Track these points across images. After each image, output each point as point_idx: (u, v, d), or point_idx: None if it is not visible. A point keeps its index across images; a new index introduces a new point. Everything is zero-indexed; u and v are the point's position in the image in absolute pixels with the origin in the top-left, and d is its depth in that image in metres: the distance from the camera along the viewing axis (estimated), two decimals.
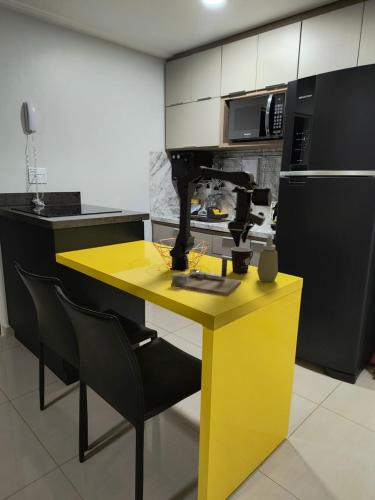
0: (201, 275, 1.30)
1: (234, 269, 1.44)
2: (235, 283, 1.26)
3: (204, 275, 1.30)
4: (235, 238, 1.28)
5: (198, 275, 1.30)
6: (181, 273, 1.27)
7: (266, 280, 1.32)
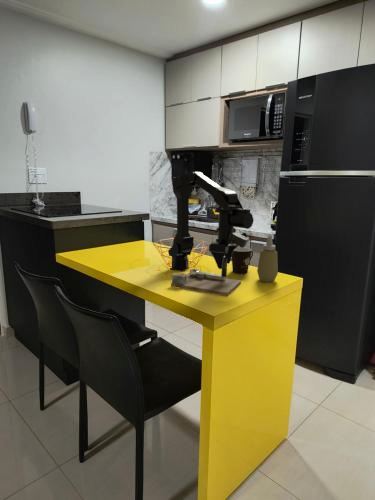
0: (201, 275, 1.30)
1: (234, 269, 1.44)
2: (235, 283, 1.26)
3: (204, 275, 1.30)
4: (217, 260, 1.23)
5: (198, 275, 1.30)
6: (181, 273, 1.27)
7: (266, 280, 1.32)
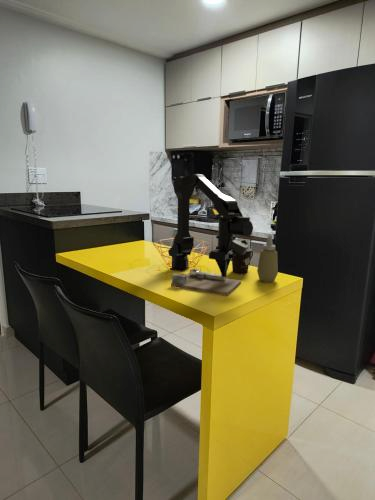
0: (201, 275, 1.30)
1: (234, 269, 1.44)
2: (235, 283, 1.26)
3: (204, 275, 1.30)
4: (220, 265, 1.27)
5: (198, 275, 1.30)
6: (181, 273, 1.27)
7: (266, 280, 1.32)
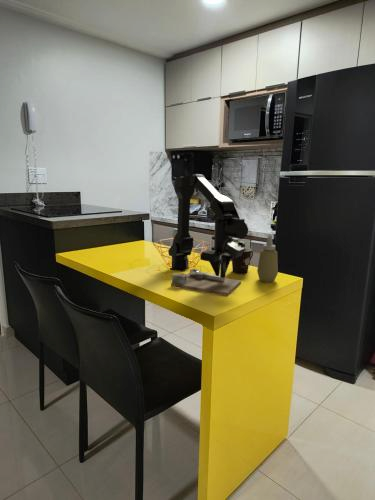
0: (200, 275, 1.30)
1: (234, 269, 1.44)
2: (235, 283, 1.26)
3: (203, 275, 1.30)
4: (214, 267, 1.25)
5: (197, 275, 1.30)
6: (181, 273, 1.27)
7: (266, 280, 1.32)
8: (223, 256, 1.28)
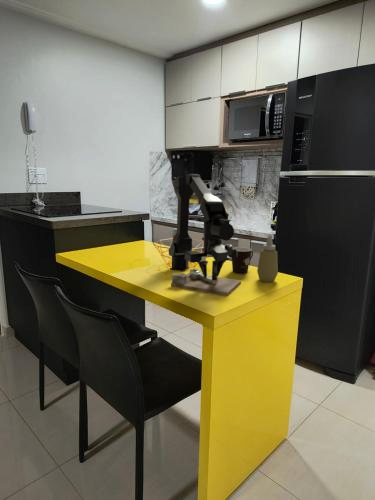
0: (194, 275, 1.29)
1: (234, 269, 1.44)
2: (235, 283, 1.26)
3: (198, 276, 1.29)
4: (201, 269, 1.23)
5: (192, 275, 1.30)
6: (181, 273, 1.27)
7: (266, 280, 1.32)
8: None
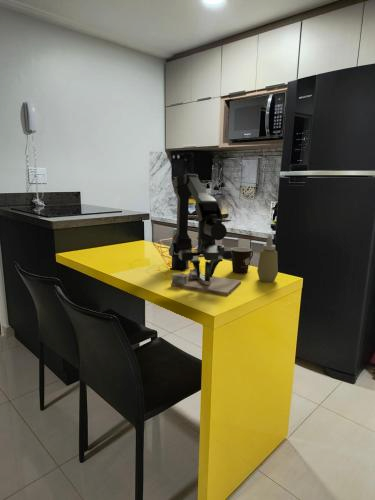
0: (191, 275, 1.30)
1: (234, 269, 1.44)
2: (235, 283, 1.26)
3: (194, 276, 1.29)
4: (195, 268, 1.22)
5: (190, 275, 1.31)
6: (181, 273, 1.27)
7: (266, 280, 1.32)
8: None
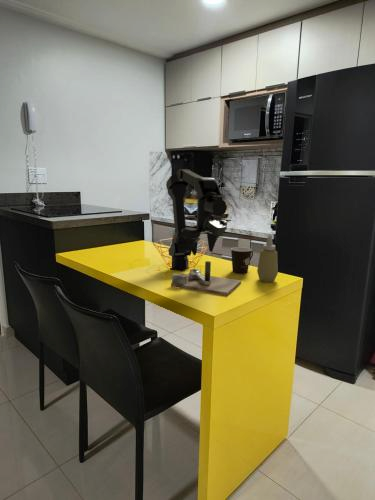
0: (191, 275, 1.30)
1: (234, 269, 1.44)
2: (235, 283, 1.26)
3: (194, 276, 1.29)
4: (191, 246, 1.24)
5: (190, 275, 1.31)
6: (181, 273, 1.27)
7: (266, 280, 1.32)
8: (210, 234, 1.31)
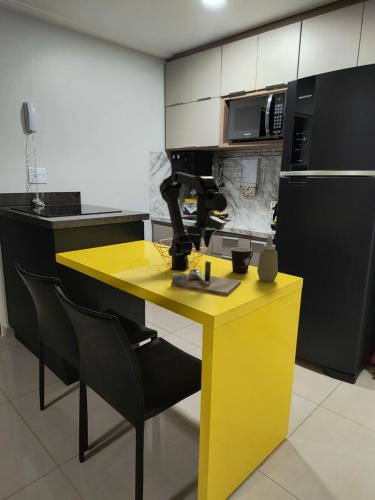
0: (191, 275, 1.30)
1: (234, 269, 1.44)
2: (235, 283, 1.26)
3: (194, 276, 1.29)
4: (195, 243, 1.28)
5: (190, 275, 1.31)
6: (181, 273, 1.27)
7: (266, 280, 1.32)
8: (205, 231, 1.37)
